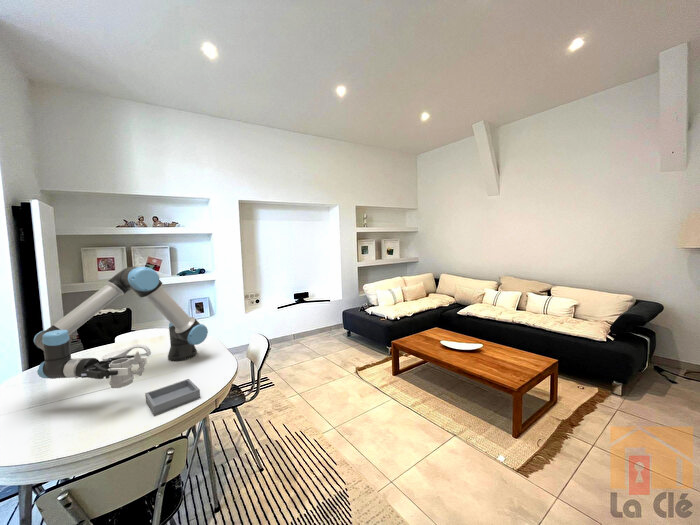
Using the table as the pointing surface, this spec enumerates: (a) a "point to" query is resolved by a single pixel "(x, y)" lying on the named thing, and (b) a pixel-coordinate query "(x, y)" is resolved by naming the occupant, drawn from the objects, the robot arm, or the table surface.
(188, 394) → the box
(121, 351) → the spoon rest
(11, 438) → the table surface
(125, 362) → the mug
